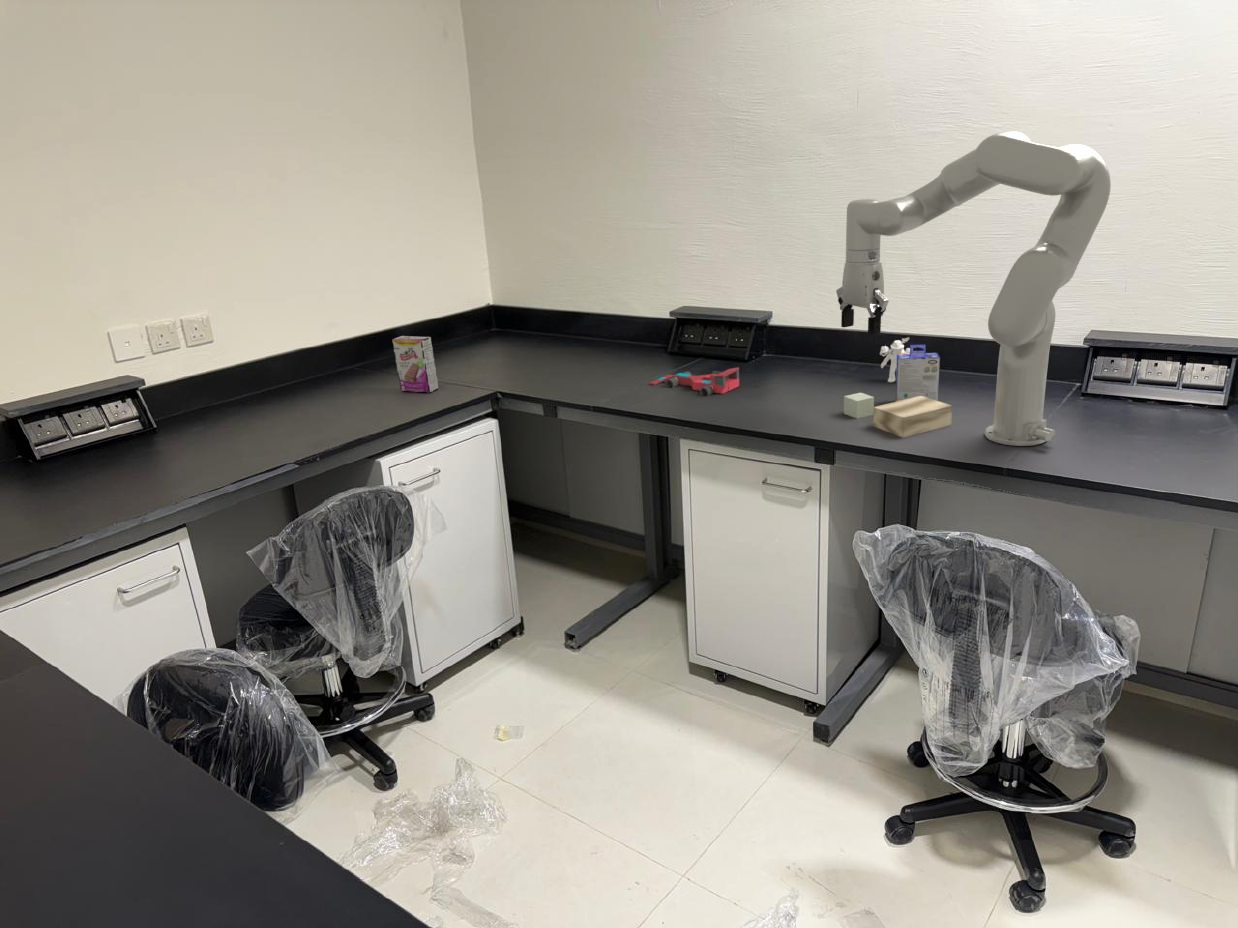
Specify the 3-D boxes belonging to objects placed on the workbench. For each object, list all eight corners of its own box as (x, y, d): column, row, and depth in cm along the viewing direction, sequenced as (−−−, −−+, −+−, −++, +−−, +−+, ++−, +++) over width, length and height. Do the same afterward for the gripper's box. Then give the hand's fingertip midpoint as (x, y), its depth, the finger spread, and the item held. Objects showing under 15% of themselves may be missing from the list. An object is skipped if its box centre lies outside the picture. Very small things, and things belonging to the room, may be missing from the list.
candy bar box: (400, 392, 266) (390, 339, 260) (410, 387, 270) (401, 335, 264) (430, 394, 261) (421, 340, 256) (440, 389, 266) (431, 336, 260)
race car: (672, 356, 259) (745, 364, 243) (673, 376, 261) (745, 385, 245) (643, 368, 249) (717, 377, 233) (644, 388, 251) (717, 399, 235)
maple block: (950, 426, 201) (952, 405, 199) (903, 439, 196) (903, 417, 194) (919, 415, 210) (920, 395, 208) (873, 427, 204) (873, 407, 203)
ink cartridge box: (935, 399, 219) (938, 343, 213) (938, 406, 214) (941, 348, 208) (894, 400, 221) (896, 344, 216) (896, 407, 216) (898, 349, 211)
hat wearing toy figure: (914, 381, 235) (916, 337, 231) (909, 384, 232) (911, 340, 228) (881, 377, 240) (883, 334, 236) (876, 381, 237) (877, 338, 233)
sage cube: (873, 415, 212) (874, 397, 210) (856, 419, 210) (857, 401, 209) (860, 410, 216) (860, 392, 215) (843, 413, 214) (844, 396, 213)
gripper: (901, 258, 194) (898, 334, 200) (852, 250, 208) (850, 321, 215) (874, 262, 191) (871, 339, 197) (825, 254, 206) (824, 326, 212)
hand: (860, 330), depth 206 cm, fingers open, 9 cm apart
